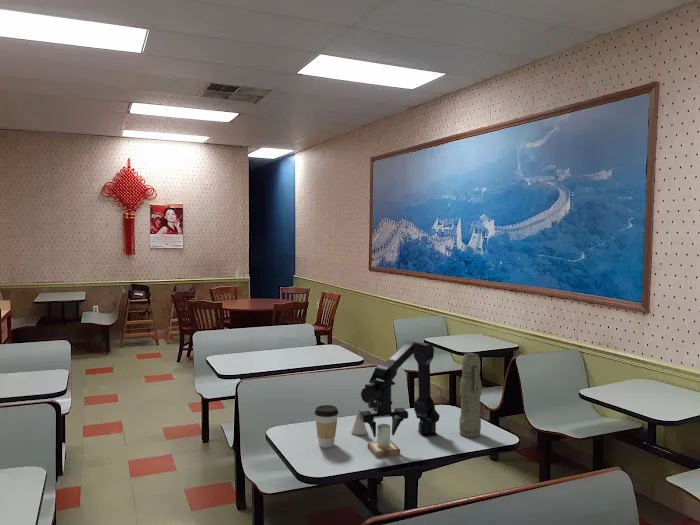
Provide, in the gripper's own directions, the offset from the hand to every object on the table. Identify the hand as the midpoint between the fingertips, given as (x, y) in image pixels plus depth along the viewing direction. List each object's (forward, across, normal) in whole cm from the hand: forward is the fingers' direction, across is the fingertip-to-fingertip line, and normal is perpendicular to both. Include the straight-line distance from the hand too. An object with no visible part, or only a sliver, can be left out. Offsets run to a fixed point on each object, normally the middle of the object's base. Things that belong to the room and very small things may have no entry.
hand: (383, 436), depth 223 cm
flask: (+6, +3, -22) cm, 23 cm away
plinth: (+6, 0, 0) cm, 6 cm away
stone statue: (+6, -42, -7) cm, 43 cm away
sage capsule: (+4, 0, 0) cm, 4 cm away
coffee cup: (+6, +20, -13) cm, 25 cm away
